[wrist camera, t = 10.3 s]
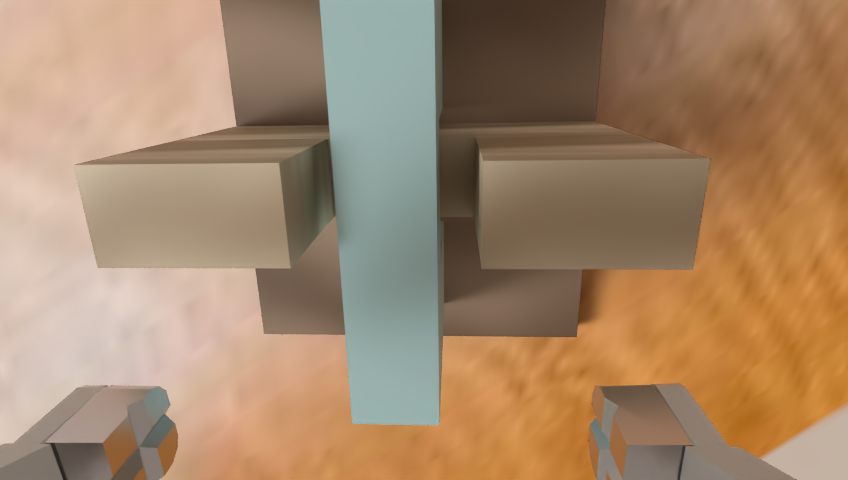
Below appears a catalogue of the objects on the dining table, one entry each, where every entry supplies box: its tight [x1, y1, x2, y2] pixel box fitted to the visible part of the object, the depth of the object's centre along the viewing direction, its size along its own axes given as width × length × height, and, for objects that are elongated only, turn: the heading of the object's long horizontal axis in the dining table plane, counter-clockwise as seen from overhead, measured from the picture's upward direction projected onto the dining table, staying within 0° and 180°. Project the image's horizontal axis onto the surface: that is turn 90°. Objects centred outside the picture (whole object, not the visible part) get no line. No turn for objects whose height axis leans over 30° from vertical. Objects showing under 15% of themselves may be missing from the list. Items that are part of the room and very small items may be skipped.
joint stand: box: [73, 0, 711, 337], centre depth 16 cm, size 16×14×10 cm
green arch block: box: [320, 0, 444, 425], centre depth 16 cm, size 12×2×8 cm, turn 1°
